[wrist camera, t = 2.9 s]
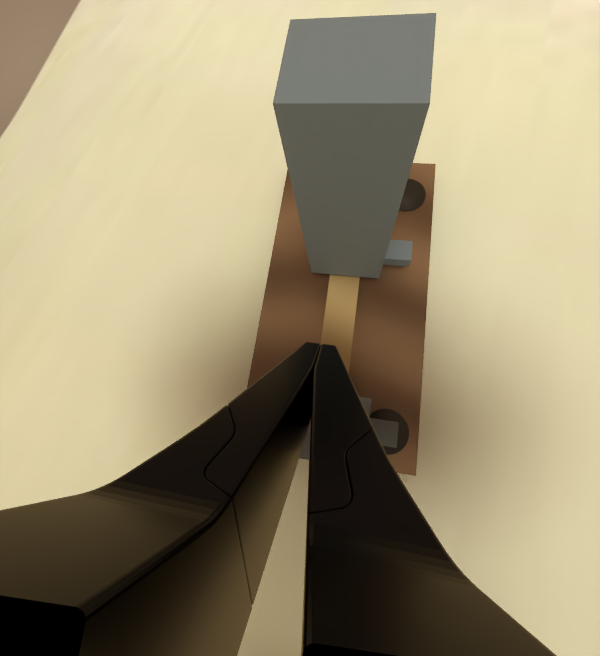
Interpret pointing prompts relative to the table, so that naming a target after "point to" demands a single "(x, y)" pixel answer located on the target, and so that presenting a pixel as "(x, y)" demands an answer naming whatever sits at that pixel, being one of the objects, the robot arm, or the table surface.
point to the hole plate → (357, 318)
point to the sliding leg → (353, 132)
